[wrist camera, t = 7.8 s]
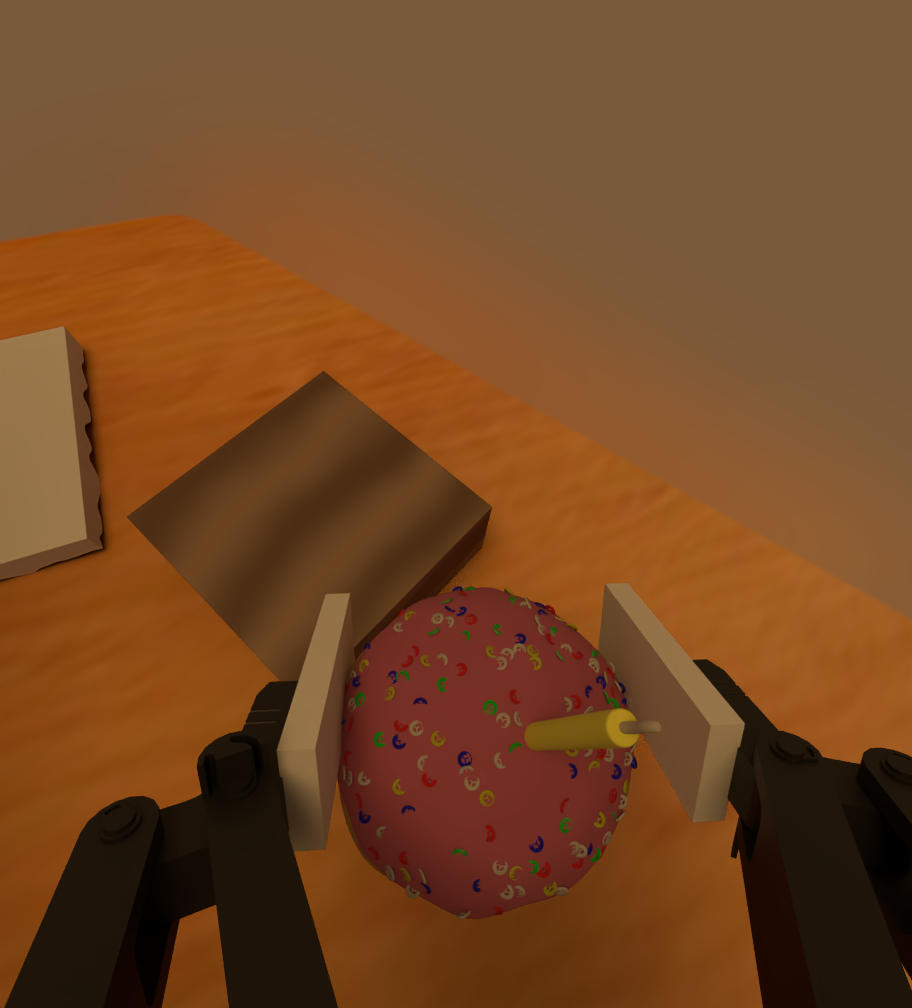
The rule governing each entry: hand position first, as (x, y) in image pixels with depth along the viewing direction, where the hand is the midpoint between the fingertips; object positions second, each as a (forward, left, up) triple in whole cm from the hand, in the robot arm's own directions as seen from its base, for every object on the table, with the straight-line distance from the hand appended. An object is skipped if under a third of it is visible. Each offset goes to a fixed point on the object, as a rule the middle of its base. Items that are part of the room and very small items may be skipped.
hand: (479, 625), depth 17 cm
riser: (-14, +2, -20) cm, 25 cm away
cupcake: (+2, -3, -4) cm, 5 cm away
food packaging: (-38, -11, -21) cm, 45 cm away
